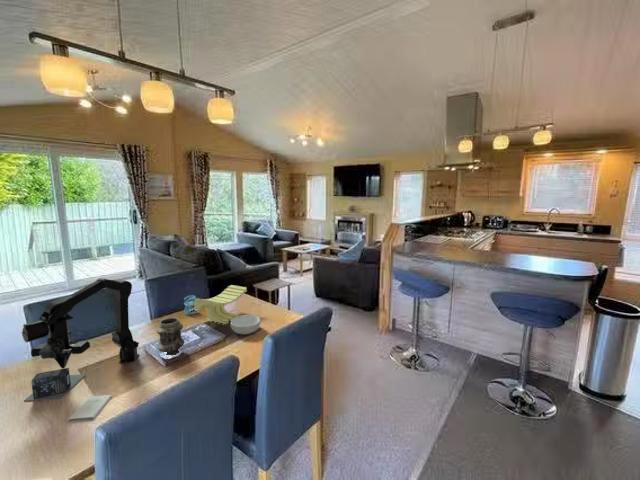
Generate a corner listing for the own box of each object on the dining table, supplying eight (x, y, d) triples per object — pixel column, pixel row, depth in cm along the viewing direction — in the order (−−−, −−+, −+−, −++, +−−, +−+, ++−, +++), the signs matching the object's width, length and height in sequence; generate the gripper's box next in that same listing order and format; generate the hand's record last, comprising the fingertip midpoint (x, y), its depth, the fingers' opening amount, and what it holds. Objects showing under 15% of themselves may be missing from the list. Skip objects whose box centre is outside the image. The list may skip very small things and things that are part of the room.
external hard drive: (68, 423, 108) (89, 399, 120) (93, 420, 109) (112, 398, 121) (68, 419, 108) (89, 396, 120) (93, 416, 109) (111, 394, 121)
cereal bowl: (224, 335, 174) (224, 323, 173) (242, 323, 190) (242, 313, 189) (249, 340, 168) (249, 328, 167) (265, 328, 183) (265, 317, 182)
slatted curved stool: (229, 308, 214) (228, 284, 211) (247, 312, 207) (246, 287, 205) (195, 325, 187) (193, 297, 185) (214, 330, 180) (213, 301, 178)
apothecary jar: (176, 346, 161) (174, 313, 159) (189, 353, 154) (187, 319, 152) (153, 355, 152) (150, 321, 149) (166, 363, 145) (163, 327, 142)
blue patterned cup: (182, 313, 206) (181, 296, 204) (195, 309, 212) (193, 293, 210) (186, 316, 201) (185, 299, 199) (199, 313, 206) (198, 296, 204)
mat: (86, 375, 135) (86, 374, 135) (60, 398, 120) (60, 397, 120) (54, 377, 134) (53, 376, 134) (23, 401, 118) (23, 400, 118)
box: (67, 392, 123) (33, 399, 118) (71, 384, 128) (38, 391, 123) (64, 374, 122) (30, 381, 117) (69, 367, 127) (36, 373, 122)
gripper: (16, 342, 114) (22, 381, 117) (71, 340, 117) (75, 377, 119) (39, 330, 125) (44, 365, 127) (88, 327, 128) (92, 362, 130)
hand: (63, 367), depth 126 cm, fingers closed
